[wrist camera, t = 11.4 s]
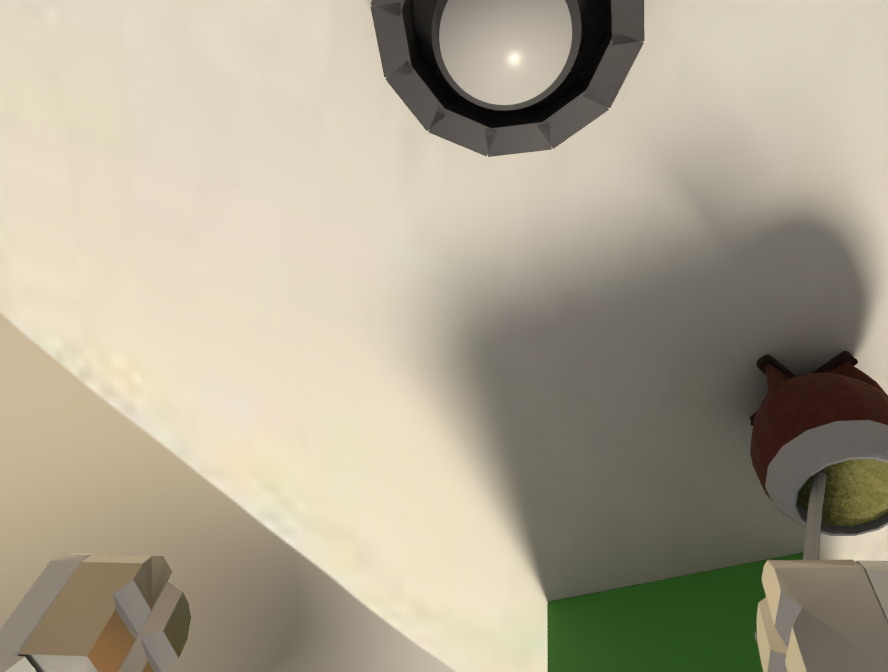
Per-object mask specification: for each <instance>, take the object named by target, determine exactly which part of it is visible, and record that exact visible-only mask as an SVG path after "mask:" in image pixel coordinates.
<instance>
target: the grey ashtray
mask: <svg viewBox="0 0 888 672" xmlns="http://www.w3.org/2000/svg"><path fill="white" fill-rule="evenodd" d="M437 1H438V0H414V1H413V3H412V0H372V2H371V5H372V6H371V11H372V16H373V21H374V26H375V31H376V37H377V42H378V47H379V52H380V57H381V62H382V67H383V72H384V77H387V78H386V80H387V82H388V83H389V84H390V85H391V87H392V88H393V89H394V90H395V92H396V93H397V94H398V95H399V97H400V98H401V99H402V100H403V102H404V103H405V104H406V105H407V107H408V108H409V109H410V110H411V112H412V113H413V114H414V115H415V117H416V118H417V119H418V120H419V122H420V123H421V124H422V125H423V127H424V128H425V129H426V130H427V131H428V130H429V133H432V134H434V135H437V136H439V137H441V138H444V139H446V140H449V141H451V142H453V143H456V144H458V145H461V146H463V147H465V148H468V149H470V150H473V151H475V152H477V153H480V154H482V155H485V156H487V154H488V157H490V156H499V155H508V154H516V153H525V152H534V151H542V150H551V146H552V147H553V149H554V148H555V147H556V146H558V145H559V144H561V143H562V142H564V141H565V140H566V139H568V138H569V137H571V136H572V135H573V134H575V133H576V132H578V131H579V130H581V129H582V128H583V127H585V126H586V125H588V124H589V123H591V122H592V121H593V120H595V119H596V118H598V117H599V116H600V115H602V114H603V113H605V112H606V111H608V110H609V109H608V108H610V107H611V105H612V103H613V101H614V99H615V98H616V96H617V94H618V92H619V90H620V88H621V86H622V84H623V82H624V80H625V78H626V76H627V74H628V72H629V70H630V69H631V67H632V65H633V63H634V61H635V59H636V57H637V55H638V53H639V51H640V49H641V47H642V45H643V41H644V0H577V2H578V6H579V10H580V16H581V41H580V47H579V50H578V54H577V57H576V60H575V62H574V65H573V66H572V68H571V70H570V72H569V74H568V75H567V77H566V78H565V79H564V81H563V82H562V83H561V84H560V85H559V87H558V88H557V89H556V90H555V91H553V92H552V93H551V94H550V95H549V96H547V97H546V98H544V99H543V100H541V101H539V102H537V103H535V104H533V105H531V106H528V107H525V108H521V109H516V110H506V111H503V110H493V109H488V108H484V107H481V106H478V105H476V104H474V103H472V102H470V101H468V100H467V99H465V98H464V97H462V96H461V95H460V94H459V93H458V92H456V91H455V90H454V89H453V88H452V86H451V85H450V84H449V83H448V82H447V80H446V79H445V77H444V76H443V74H442V72H441V70H440V68H439V66H438V64H437V61H436V58H435V55H434V51H433V46H432V37H431V35H432V20H433V14H434V10H435V7H436V4H437ZM606 16H607V27H606V29H605V23H606ZM604 29H605V31H604ZM603 32H604V33H603ZM420 49H421V51H420ZM421 52H422V53H421ZM585 70H586V71H585ZM584 72H585V73H584ZM583 73H584V75H582V74H583Z"/></svg>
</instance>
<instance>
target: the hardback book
mask: <svg viewBox="0 0 888 672" xmlns="http://www.w3.org/2000/svg"><path fill="white" fill-rule="evenodd" d="M803 554H804V553H799V554H794V555H788V556H783V557H778V558H773V559H768V560H803ZM766 562H767V560H763V561H757V562H752V563H747V564H742V565H737V566H731V567H726V568H721V569H716V570H711V571H706V572H700V573H695V574H690V575H685V576H680V577H675V578H669V579H664V580H659V581H654V582H649V583H644V584H638V585H633V586H628V587H623V588H618V589H613V590H607V591H602V592H597V593H592V594H587V595H582V596H576V597H571V598H566V599H561V600H556V601H551V602H548V672H763V668H762V664H761V659H760V653H759V648H758V643H757V642H756V639H755V632H756V631H757V622H756V620H757V610H758V603H759V602H760V601H762V600H763V599H764V598H765V597H766V594H765V590H764V587H763V583H762V574H763V568H764V565H765V563H766Z"/></svg>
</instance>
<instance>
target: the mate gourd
mask: <svg viewBox="0 0 888 672" xmlns="http://www.w3.org/2000/svg"><path fill="white" fill-rule="evenodd" d="M857 363H858V361H857V360H856V359H855V358H854V357H853V356H852V355H851V354H850V353H849V352H846V351H844V352H842V353H841V354H839V355H837V356H836V357H834V358H833V359H831V360H830V361H829V362H827V363H826V364H824V365H823V366H821V367H820V368H819V369H817V370H816V371H814V372H813V373H807V374H803V375H800V376H795V375H794V374H793V373H791V372H790V371H789V370H788V369H786V368H785V367H784V366H783V365H781V364H780V363H779V362H778V361H776V360H775V359H774V358H772V357H771V356H769V355H764V356H763V357H762V358H760V359H759V360H758V361H757V367H758V368H759V369H760V370H761V371H762V372H763V373H764V374H766V376H767V384H768V390H769V393H768V394H767V396H766V398H765V399H764V401H763V402H762V404H761V406H760V407H759V409H758V411H757V412H756V413H755V414H753V415H752V416H751V417H750V419H751V425H752V426H753V430H752V439H751V452H750V453H751V458H752V463H753V466H754V469H755V471H756V473H757V475H758V478H759V480H760V482H761V484H762V486H763V488H764V490H765V493H766V494H767V496H768V497H769V498H770V499H771V500H772V502H773V504H774V506H775V507H776V508H777V509H778V510H780V511H781V512H782V513H784V514H785V515H786V516H788V517H789V518H791V519H792V520H793V521H795V522H796V523H798V524H799V525H801V526H802V527H805V528H806V533H805V543H804V554H803V560H818V558H819V543H820V533H823V534H826V535H830V536H856V535H860V534H864V533H868V532H872V531H877V530H879V529H881V528H883V527H885V526H886V525H888V395H887V394H886V393H885V392H884V391H883V389H882V388H881V387H880V386H879V384H878V383H877V382H876V381H874V380H873V379H872V378H870V377H869V376H868V375H866V374H865V373H863V372H862V371H860V370H859V369H857V368H856V367H854V365H856V364H857ZM755 639H756V642H757V643H758V641H757V631H756V632H755Z"/></svg>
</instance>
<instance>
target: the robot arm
mask: <svg viewBox="0 0 888 672" xmlns="http://www.w3.org/2000/svg"><path fill="white" fill-rule="evenodd" d="M171 573H172V571H171V569H170V567H169V566H168V564H167V562H166V561H165V559H164V557H163V556H140V555H114V554H113V555H112V554H83V553H81V554H80V553H62V554H61V555H59V556H58V557H56V558H55V559H53V560H51V561H50V562H49V564H48V565H47V567H46V568H45V569H44V571H43V572H42V573H41V575H40V576H39V578H38V579H37V580H36V582H35V583H34V584H33V586H32V587H31V588H30V590H29V591H28V592H27V594H26V595H25V596H24V598H23V599H22V601H21V602H20V603H19V605H18V606H17V607H16V609H15V610H14V611H13V613H12V614H11V616H10V617H9V618H8V620H7V621H6V622H5V624H4V625H3V626H2V628H1V629H0V672H163V671H164V670H165V669H167V668H168V667H169V666H170V665H171V664H172V663H173V662H175V661H176V660H177V659H178V658H179V656H180V654H181V652H182V650H183V647H184V645H185V643H186V641H187V636H188V630H189V625H190V619H191V616H190V610H189V604H188V601H187V599H186V597H185V595H184V593H183V592H182V591H181V590H179V589H178V588H177V587H175V586H174V585H172V584H171V583H169V582H168V580H169V577H170V575H171ZM762 583H763V587H764V590H765V594H766V597H765V598H764V599H763V600H762V601H760V602H759V603H758V610H757V620H756V622H757V641H758V648H759V653H760V659H761V664H762V668H763V672H888V561H853V560H767V562H766V563H765V565H764V568H763V574H762Z"/></svg>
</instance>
